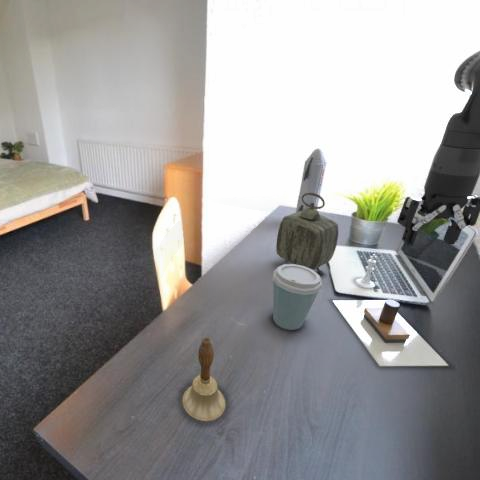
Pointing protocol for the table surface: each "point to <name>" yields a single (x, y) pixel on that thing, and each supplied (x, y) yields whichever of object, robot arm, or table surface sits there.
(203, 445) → the table surface
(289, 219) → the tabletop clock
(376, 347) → the tile
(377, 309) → the stamp
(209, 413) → the hand bell
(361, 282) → the chess piece
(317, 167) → the rocket model
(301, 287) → the disposable coffee cup
